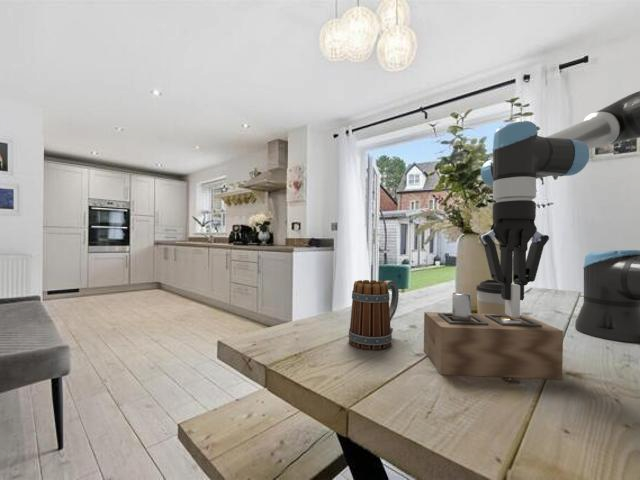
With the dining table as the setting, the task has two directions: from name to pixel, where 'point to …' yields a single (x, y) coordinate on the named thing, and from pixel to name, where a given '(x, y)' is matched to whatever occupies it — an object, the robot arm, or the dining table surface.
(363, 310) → the mug
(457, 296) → the peg
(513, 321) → the peg
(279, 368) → the dining table surface
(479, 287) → the coffee cup
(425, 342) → the socket block
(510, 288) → the robot arm
